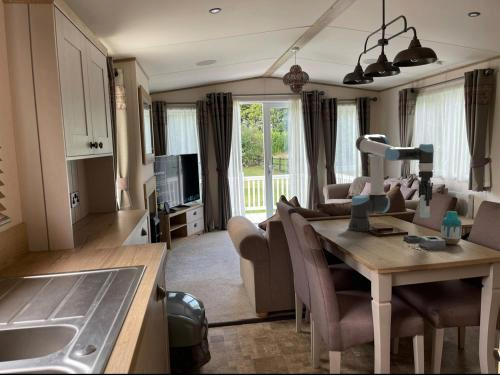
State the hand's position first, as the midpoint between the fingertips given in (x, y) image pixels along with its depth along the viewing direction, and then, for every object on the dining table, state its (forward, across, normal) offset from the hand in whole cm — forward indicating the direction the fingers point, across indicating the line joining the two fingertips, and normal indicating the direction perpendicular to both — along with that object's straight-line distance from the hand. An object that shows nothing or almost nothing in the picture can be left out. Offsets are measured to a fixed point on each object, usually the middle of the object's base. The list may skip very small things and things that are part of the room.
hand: (424, 211), depth 225 cm
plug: (+4, 0, 0) cm, 4 cm away
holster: (+20, -9, -3) cm, 22 cm away
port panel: (+20, +5, +2) cm, 21 cm away
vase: (+20, 0, +16) cm, 26 cm away
